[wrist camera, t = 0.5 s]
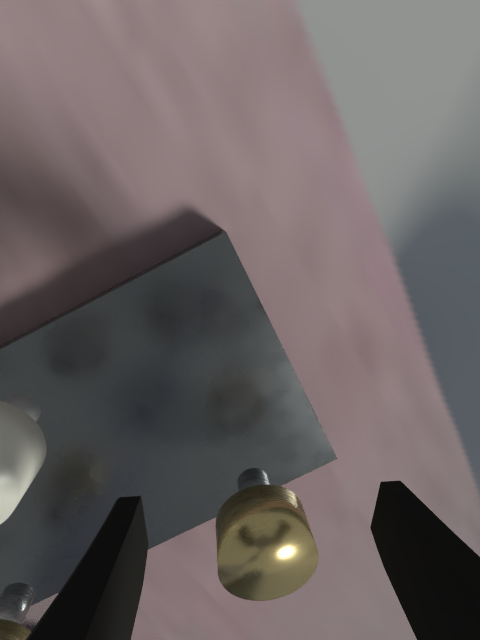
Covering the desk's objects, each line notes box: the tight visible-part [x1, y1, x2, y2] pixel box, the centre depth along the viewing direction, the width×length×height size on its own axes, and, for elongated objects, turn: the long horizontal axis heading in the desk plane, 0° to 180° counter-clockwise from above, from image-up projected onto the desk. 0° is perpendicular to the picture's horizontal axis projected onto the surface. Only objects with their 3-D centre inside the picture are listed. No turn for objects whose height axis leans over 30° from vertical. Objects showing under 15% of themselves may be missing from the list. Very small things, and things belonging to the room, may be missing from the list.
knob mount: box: [0, 230, 337, 606], centre depth 19 cm, size 23×15×2 cm, turn 116°
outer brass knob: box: [216, 468, 318, 601], centre depth 15 cm, size 4×4×4 cm
